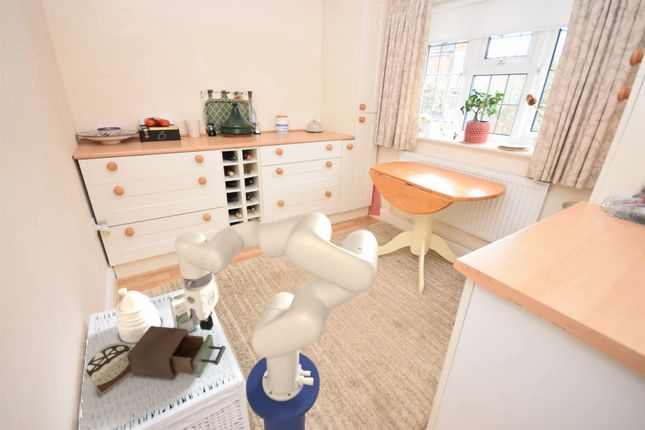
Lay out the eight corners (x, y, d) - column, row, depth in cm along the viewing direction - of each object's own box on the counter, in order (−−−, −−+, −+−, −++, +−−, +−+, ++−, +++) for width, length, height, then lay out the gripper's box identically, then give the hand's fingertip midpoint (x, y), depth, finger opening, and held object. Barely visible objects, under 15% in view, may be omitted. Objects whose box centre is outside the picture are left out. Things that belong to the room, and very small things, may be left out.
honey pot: (118, 347, 98) (103, 306, 91) (121, 322, 109) (108, 283, 101) (161, 334, 104) (150, 294, 97) (160, 311, 114) (150, 273, 107)
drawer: (229, 351, 98) (227, 336, 95) (216, 379, 88) (214, 364, 85) (181, 346, 99) (177, 331, 96) (163, 374, 89) (159, 358, 86)
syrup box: (191, 320, 111) (185, 290, 105) (196, 330, 106) (190, 298, 100) (174, 327, 107) (167, 296, 101) (179, 337, 103) (172, 305, 97)
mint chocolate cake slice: (128, 357, 95) (120, 335, 91) (139, 366, 92) (131, 343, 88) (84, 387, 85) (74, 364, 81) (95, 399, 82) (84, 374, 78)
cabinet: (191, 347, 99) (187, 329, 96) (172, 379, 89) (167, 359, 85) (156, 344, 100) (150, 325, 97) (133, 375, 89) (126, 355, 86)
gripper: (197, 296, 71) (208, 350, 79) (222, 262, 85) (229, 311, 92) (168, 293, 72) (181, 347, 79) (197, 260, 85) (206, 309, 93)
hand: (207, 327), depth 86 cm, fingers closed
